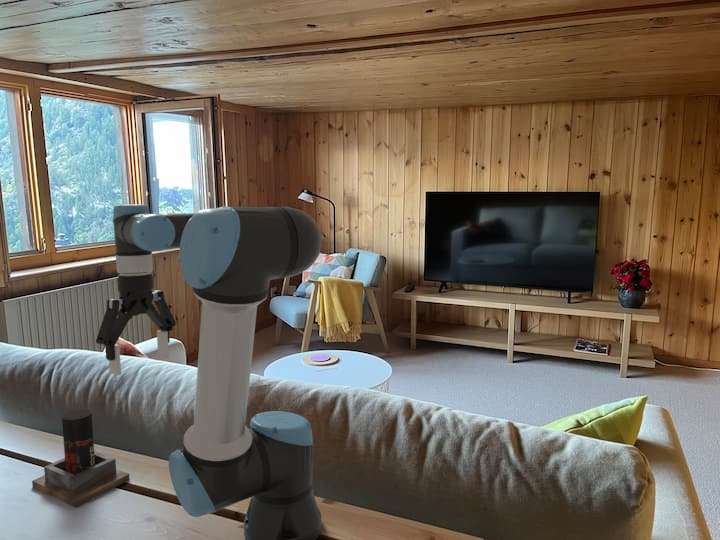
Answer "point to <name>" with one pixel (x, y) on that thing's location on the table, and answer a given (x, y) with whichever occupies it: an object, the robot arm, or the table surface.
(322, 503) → the table surface
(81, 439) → the deodorant
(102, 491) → the socket stand
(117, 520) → the table surface
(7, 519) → the table surface
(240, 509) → the table surface
